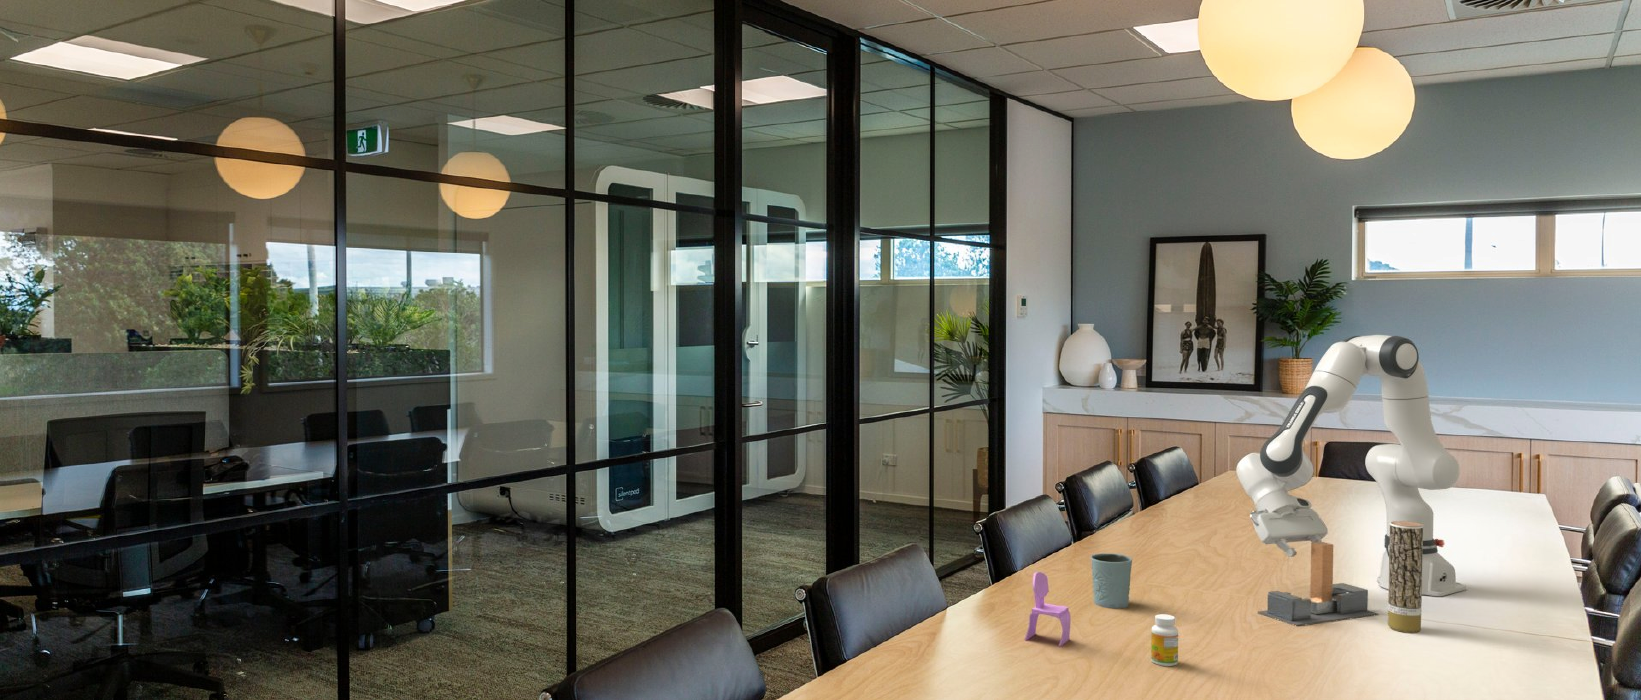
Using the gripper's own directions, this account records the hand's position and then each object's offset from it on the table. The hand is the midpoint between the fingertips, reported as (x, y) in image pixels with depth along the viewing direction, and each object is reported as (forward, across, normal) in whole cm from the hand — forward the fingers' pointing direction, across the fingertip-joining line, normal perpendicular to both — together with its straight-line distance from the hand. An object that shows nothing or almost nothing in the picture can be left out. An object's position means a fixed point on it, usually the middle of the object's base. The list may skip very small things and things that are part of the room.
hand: (1307, 554), depth 259 cm
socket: (+13, -10, +7) cm, 18 cm away
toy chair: (+10, -76, +11) cm, 78 cm away
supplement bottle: (+25, -62, -4) cm, 67 cm away
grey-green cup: (-5, -43, +26) cm, 50 cm away
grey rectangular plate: (+13, -1, +7) cm, 15 cm away
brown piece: (+12, +4, +6) cm, 15 cm away
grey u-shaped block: (+13, +7, +7) cm, 16 cm away
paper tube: (+25, +8, -5) cm, 27 cm away
